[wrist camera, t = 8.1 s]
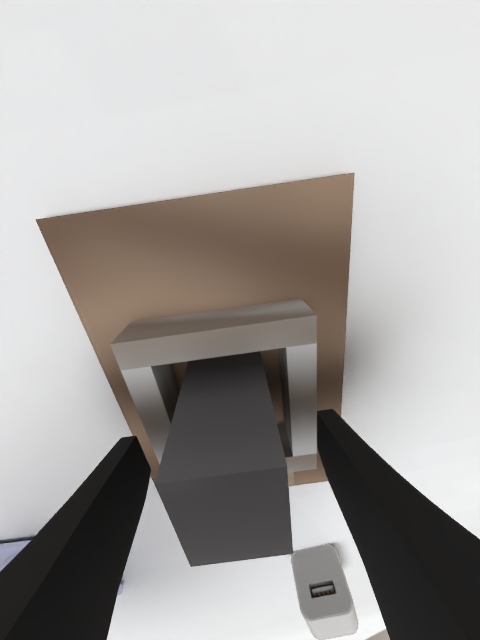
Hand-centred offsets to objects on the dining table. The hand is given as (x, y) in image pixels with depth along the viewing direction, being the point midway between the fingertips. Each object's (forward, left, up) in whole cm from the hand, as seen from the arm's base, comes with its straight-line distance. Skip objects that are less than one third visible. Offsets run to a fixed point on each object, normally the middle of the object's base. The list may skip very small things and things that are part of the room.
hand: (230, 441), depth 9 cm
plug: (0, 0, -3) cm, 3 cm away
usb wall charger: (-23, -5, -4) cm, 24 cm away
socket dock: (0, 0, -4) cm, 4 cm away
